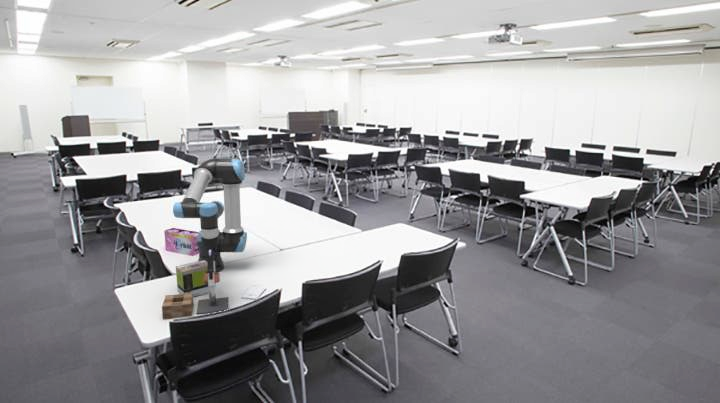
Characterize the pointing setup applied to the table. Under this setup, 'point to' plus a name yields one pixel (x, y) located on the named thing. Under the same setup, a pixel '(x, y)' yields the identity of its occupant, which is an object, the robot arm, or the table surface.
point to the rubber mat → (206, 308)
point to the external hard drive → (253, 293)
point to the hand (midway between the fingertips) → (212, 279)
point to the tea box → (192, 278)
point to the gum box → (181, 241)
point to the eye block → (177, 306)
